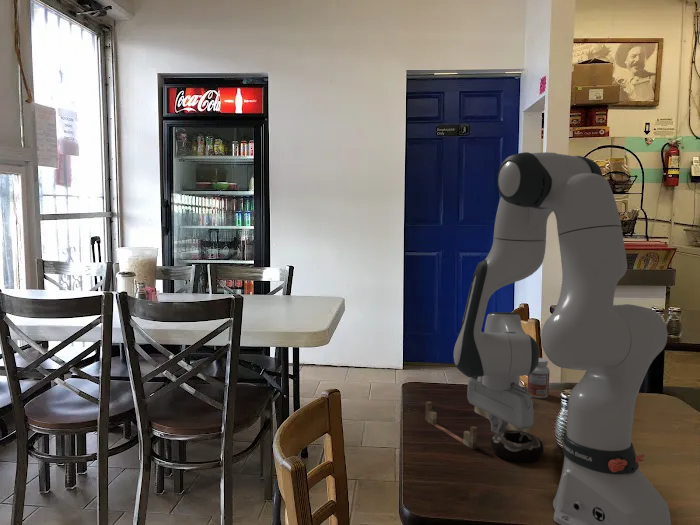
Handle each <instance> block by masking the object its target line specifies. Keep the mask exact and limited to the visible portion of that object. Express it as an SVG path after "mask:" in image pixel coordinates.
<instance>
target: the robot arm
mask: <svg viewBox="0 0 700 525" xmlns="http://www.w3.org/2000/svg"><path fill="white" fill-rule="evenodd" d="M496 186H497V189H498V193H499V194H500V198H499V202H498V206H497V209H496V210H497V211H496V215H495V220H494V227H493V228H494V229H493V239H492V240H493V241H492V245H491V249H490V250H489V252H488V254H487V256H486V258H484V259H483V260H481V261H479V262H478V263H477V265H476V267H475V270H474V272H473V275H472V279H471V282H470V287H469V290H468V296H467V299H466V304H465V308H464V312H463V317H462V322H461V325H460V328H459V332H458V335H457V339H456V342H455V344H454V348H453V362H454V365H455V368H456V369H457V370H458V371H459V372H460V373H462V374H463V375H464V376H466V377H468V378H469V379H468V381H467V396H466V397H467V398H466V399H467V401H468V403H469V404H470V405H473V406H474V407H475V406H476V407H478V408H480V409H482V410H484V411H486V412H488V417H489V419H488V420H489V422H490V431H491V432H492V433H495V434H496V433H499V432H501V431H506V428H505V427H506V426H507V424H508V423H510V424H512V425H514V426H516V427H518V428H520V429H524V428H529V427H530V428H532V426H533V425H534V420H535V418H534V416H535V413H534V403H533V397H532V396H531V395H530V393H529V392H528V389H527V388H526V387H525V386H521V385H520V377H525V376H528V375H529V374H531V373H532V372H533V371H534V370H535V369H536V367H537V366H538V361H539V358H540V351H539V350H540V346H539V343H538V342H537V341H536V340H535V339H534V338H533V337H532V336H531V335H529V334H528V333H526V332H525V331H524V328H523V327H522V320H521V316H520V314H518V313H516V312H506V311H503V312H502V311H501V312H500V311H494V312H493V311H492V312H490V313H488V314H487V316H486V319H485V315H486V311H487V307H488V305H489V304H488V303H489V300H490V298H491V296H492V295H493V294H494V293H495V292H496V291H498V290H499V289H501V288H504V287H506V286H509V285H511V284H514V283H516V282H517V283H518V282H520V281H522V280H525V279H526V278H528V277H531V276H532V275H533V274H535V273H536V272H537V271H538V270H539V269H540V268H541V266H542V264H543V262H544V258H545V256H546V255H545V254H546V247H547V245H546V244H547V227H548V226H547V224H548V219H549V216H550V215H551V214H552V213H554V216H555V219H556V220H555V221H556V227H557V228H556V229H557V236H558V244H559V252H560V262H561V271H562V272H561V273H562V280H561V286H560V287H561V288H560V294H559V297H558V300H557V304H556V306H555V308H554V310H553V312H552V314H551V315H550V316H549V317H548V319H546V320H545V322H544V324H543V326H542V329H541V335H540V340H541V341H540V342H541V345H542V346H541V347H542V350H543V352H544V354H545V355H546V357H547V359H548V360H549V361H550V362H551V364H554V365H555V366H557V367H559V368H563V369H568V370H576V371H577V370H578V371H584V372H585V373H584V375H583V376H582V378H581V379H580V380H579V381H578V383H577V384H575V386H573V388H572V389H571V391H570V392H569V395H568V404H567V419H566V420H567V421H566V431H565V432H564V434H563V441H562V454H563V455H564V457H563V465H562V469H561V474H560V479H559V484H558V488H557V491H556V494H555V496H554V498H553V501H552V507H553V508H554V514H553V521H554V522H556V523H557V524H559V525H672V522H671V521H672V520H671V518H672V517H671V513H670V511H671V510H670V507H669V504H668V502H667V501H666V500H665V499H664V498H663V496H662V495H661V493H659V492H658V490H656V488H655V487H654V486H653V485H652V483H651V482H650V481H649V480H648V478H647V477H646V476H645V474H643V472H642V471H641V470H640V465H639V463H641V462H644V461H645V459H644V457H645V454H641V455H640V454H639V455H637V454H636V451H635V448H634V444H633V442H632V435H633V425H634V415H635V406H636V403H637V398H638V395H639V392H640V389H641V386H642V384H643V381H644V379H645V377H646V374H647V373H648V370H649V368H650V366H651V365H652V363H653V362H654V360H655V359H656V357H657V356H659V354H660V353H661V352H662V351H663V350H664V349H665V347H666V345H667V341H668V329H667V328H668V327H667V326H666V323H665V321H664V319H663V318H662V317H661V314H660V313H657V312H656V311H655V310H653V309H651V308H649V307H645V306H642V305H641V306H639V305H634V304H615V305H614V300H615V299H614V298H615V292H616V289H617V288H616V287H617V285H618V283H619V281H620V280H621V279H622V278H623V277H624V276H625V274H626V272H628V271H627V270H628V260H627V253H626V248H625V242H624V234H623V228H622V222H621V217H620V213H619V209H618V206H617V201H616V198H615V195H614V193H613V190H612V188H611V185H610V183H609V181H608V179H606V178H605V177H604V176H603V172H602V170H601V167H600V166H599V164H598V163H596V162H595V161H594V160H592V159H590V158H587V157H586V156H585V157H584V156H582V155H569V154H563V153H562V154H561V153H557V152H547V151H546V152H532V153H531V152H527V151H526V152H525V151H524V152H518V153H514V154H512V155H510V156H509V155H508V157H506V158H505V159H504V160H503V161H502V163H501V164H500V167H499V168H498V172H497V177H496ZM484 320H485V325H484V330H483V331H482V329H483V324H484ZM497 417H498V419H497ZM498 422H500V423H498Z"/></svg>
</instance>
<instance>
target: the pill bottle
mask: <svg viewBox="0 0 700 525" xmlns="http://www.w3.org/2000/svg"><path fill="white" fill-rule="evenodd" d="M548 360H549V359H548ZM548 360H547V359H546V358H542V357H539V361H538V366H537V367H536V369H535V370H534V371H533V372H532V373H531V374H529V375H527V386H526V387H527V389H528V392H529V393H530V395H531V396H532V398H535V399H545V398H547V397H548V396H549V393H550V392H549V391H550V390H549V389H550V369H549V367H548V362H549V361H548Z"/></svg>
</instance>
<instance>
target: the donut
mask: <svg viewBox="0 0 700 525" xmlns="http://www.w3.org/2000/svg"><path fill="white" fill-rule="evenodd" d="M490 446H491V449H492V450H493V452H494V453H495V454H496V455H497V456H498V457H501V459H505V460H507V461H510V462H511V461H512V462H517V463H529V462H530V463H531V462H534V461H537V460H539V459H540V458H541V457H542V455H543V454H544V452H545V451H544V444H543V442H542V441H541V440H540V438H539V437H537V436H536V435H533V434H531V433H530V432H529V433H526V432H523V431H516V430H508V429H505V431H501V432H499V433H495V434H494V435H493V436H492V438H491V442H490Z"/></svg>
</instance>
